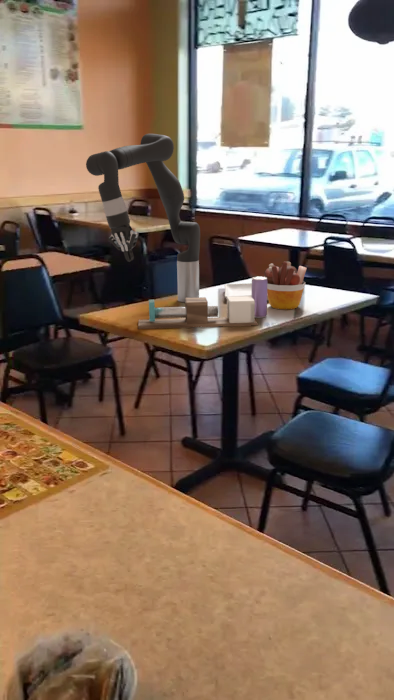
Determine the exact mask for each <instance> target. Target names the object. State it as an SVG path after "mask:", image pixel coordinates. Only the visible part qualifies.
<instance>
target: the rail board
mask: <svg viewBox="0 0 394 700" xmlns="http://www.w3.org/2000/svg"><path fill="white" fill-rule="evenodd" d="M184 303H185V307H187V318H156V319H155V321H149V318H148V319H147V318H146V319H145V318H144V319H138V330H149V329H182V328H183V329H184V328H186V329H187V328H216V327H217V328H218V326H223V327H246V326H247V327H249V326H251V325H257V326H258V322H257V320H256V319H255V318H254V322H253V323H229V319H227V316H226V317H225V316H223V317H221V316H220V317H219V316H218V317H208V306H209V305H208V304H209V302H208V300H207V297H205V296H204V297H203V296H202V297H200V296H199V298H185V302H184ZM251 327H252V326H251Z"/></svg>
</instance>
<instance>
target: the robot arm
mask: <svg viewBox="0 0 394 700" xmlns="http://www.w3.org/2000/svg"><path fill="white" fill-rule="evenodd" d="M174 146H175V145H174V142H173V140H172V138H171V137H170V136H167V135H164V134H157V133H146V134H144V135H143V136H142V137H141V140H140V144H133V145H132V144H131V145H124V146H121V147H116V148H113V149H111V150H109V151H107V150H106V151H101V152H98V153H94V154H91V155H90V156H88V157H87V159H86V162H85V166H86V167H85V168H86V170H87V171H88V173H89V174H90V175H92V176H96V177H98V176H103V182H101V183H99V185H98V187H97V189H98V193H99V195H100V199H101V203H102V208H103V211H104V214H105V219H106V221H107V224H108V228H109V229H110V233H111V235H109V237H108V238H107V241H109V242H110V243H111V244H112V245H113V247H115V248H116V250H117V251H121V252H123V256H124V259H125V260H126V261H127V262H132V261H133V260H135V255H134V253H133V248H134V247H136V245H137V242H138V239H139V235H140V233H139V232H138V231H134V230H133V228H132V226H131V219H130V216H129V213H128V210H127V206H126V203H125V199H124V198H123V195H122V192H121V188H120V185H119V182H120V181H119V180H120V179H119V170H123V169H127V168H130V167H133V166H137V165H140V164H144V163H145V164H146V165H147V167H148V169H149V172H150V174H151V176H152V179H153V180H154V183H155V186H156V190H157V192H158V195H159V197H160V200H161V203H162V205H163V208H164V210H165V214H166V217H167V220H168V223H169V228H170V232H171V235H172V238H173V240H174V242H175V243H177V244H178V245H188V247H187V249H186V250H185V251H182V252H179V253H178V254H177V255H176V260H177V261H176V269H177V270H176V272H177V275H176V276H177V277H176V280H177V301H178V302H180V303H181V302H182V303H185V298H200V264H199V263H200V246H201V228H200V224H199V223H197V222H195V221H193V222H192V221H191V222H190V221H182V220H181V218H180V211H181V209H182V208H183V206H184V205H183V204H184V201H185V194H184V191H183V187H182V184H181V182H180V180H179V179H178V177H177V176H176V175H175V173H173V172H172V171H171V170H170V169H169V167H167V165H166V164H165V163H164V162H165V161H168V160H169V159H171V157H172V156H173V155H174V154H173V153H174V149H175V147H174Z"/></svg>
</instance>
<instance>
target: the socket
mask: <svg viewBox="0 0 394 700" xmlns="http://www.w3.org/2000/svg"><path fill="white" fill-rule="evenodd" d="M254 315H255V301H254V299H253V298H252V297H251V296H236V297H227V299H226V317H227V319H229V323H253V322H254V319H255V318H254Z"/></svg>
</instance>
